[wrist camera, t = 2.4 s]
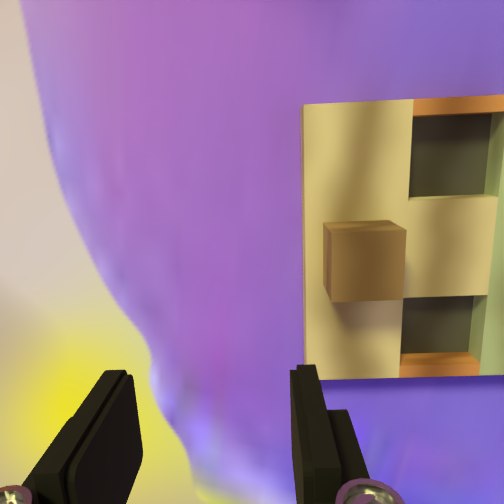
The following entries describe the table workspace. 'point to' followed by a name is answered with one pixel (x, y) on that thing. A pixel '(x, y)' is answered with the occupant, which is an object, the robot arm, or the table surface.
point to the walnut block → (364, 260)
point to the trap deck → (409, 234)
